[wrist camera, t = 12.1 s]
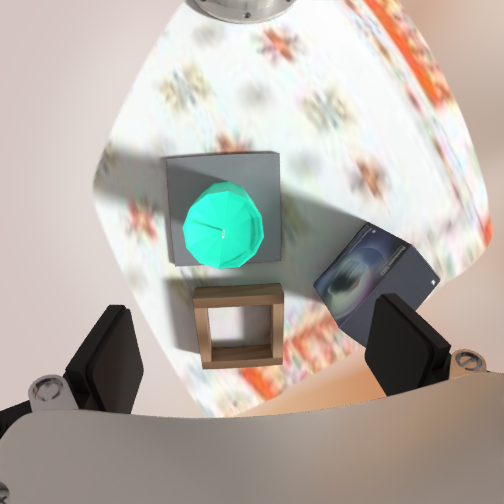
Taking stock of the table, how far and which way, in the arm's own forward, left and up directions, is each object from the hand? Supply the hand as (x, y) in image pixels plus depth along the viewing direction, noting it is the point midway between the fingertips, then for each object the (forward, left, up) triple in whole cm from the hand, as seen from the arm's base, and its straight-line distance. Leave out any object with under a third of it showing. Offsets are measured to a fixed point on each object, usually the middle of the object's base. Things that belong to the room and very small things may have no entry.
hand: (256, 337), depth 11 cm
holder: (+13, 0, -23) cm, 27 cm away
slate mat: (-1, -1, -23) cm, 23 cm away
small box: (+7, +14, -24) cm, 28 cm away
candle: (-1, -1, -23) cm, 23 cm away
